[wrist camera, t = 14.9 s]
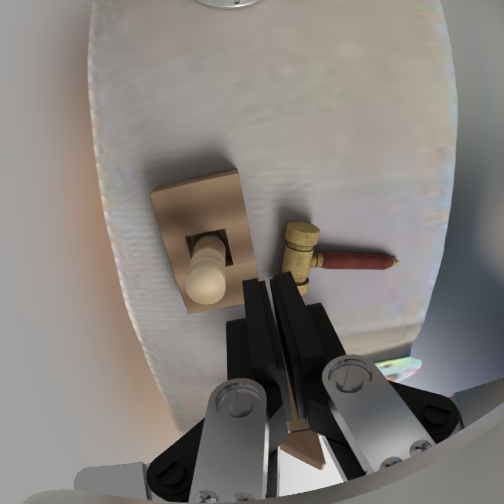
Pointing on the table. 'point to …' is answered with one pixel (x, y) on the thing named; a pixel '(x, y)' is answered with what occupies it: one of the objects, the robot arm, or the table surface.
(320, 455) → the wooden toy
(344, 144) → the table surface
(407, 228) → the table surface
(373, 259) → the gavel
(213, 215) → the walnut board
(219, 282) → the wooden pepper mill
